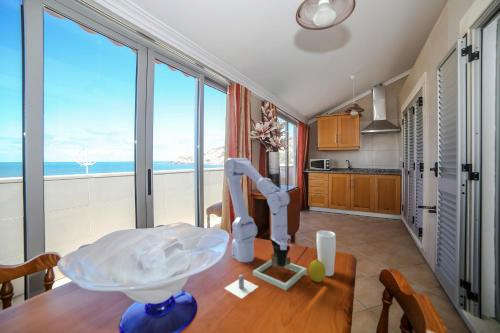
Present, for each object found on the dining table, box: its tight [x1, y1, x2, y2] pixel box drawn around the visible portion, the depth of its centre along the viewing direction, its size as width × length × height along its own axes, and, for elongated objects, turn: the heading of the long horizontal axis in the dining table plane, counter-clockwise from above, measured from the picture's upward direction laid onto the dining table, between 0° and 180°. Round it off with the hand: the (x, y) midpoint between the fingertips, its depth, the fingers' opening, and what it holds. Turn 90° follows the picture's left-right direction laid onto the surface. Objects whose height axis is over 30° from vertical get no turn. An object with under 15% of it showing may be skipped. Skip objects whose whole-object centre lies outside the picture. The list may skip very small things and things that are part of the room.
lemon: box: [308, 259, 326, 283], centre depth 72 cm, size 6×6×8 cm
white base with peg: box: [223, 274, 259, 299], centre depth 68 cm, size 8×8×5 cm
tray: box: [252, 259, 307, 291], centre depth 76 cm, size 14×14×2 cm
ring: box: [270, 252, 291, 269], centre depth 76 cm, size 7×5×3 cm
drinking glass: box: [315, 230, 337, 277], centre depth 78 cm, size 7×7×15 cm
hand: (279, 261), depth 76 cm, fingers closed on ring, 5 cm apart
